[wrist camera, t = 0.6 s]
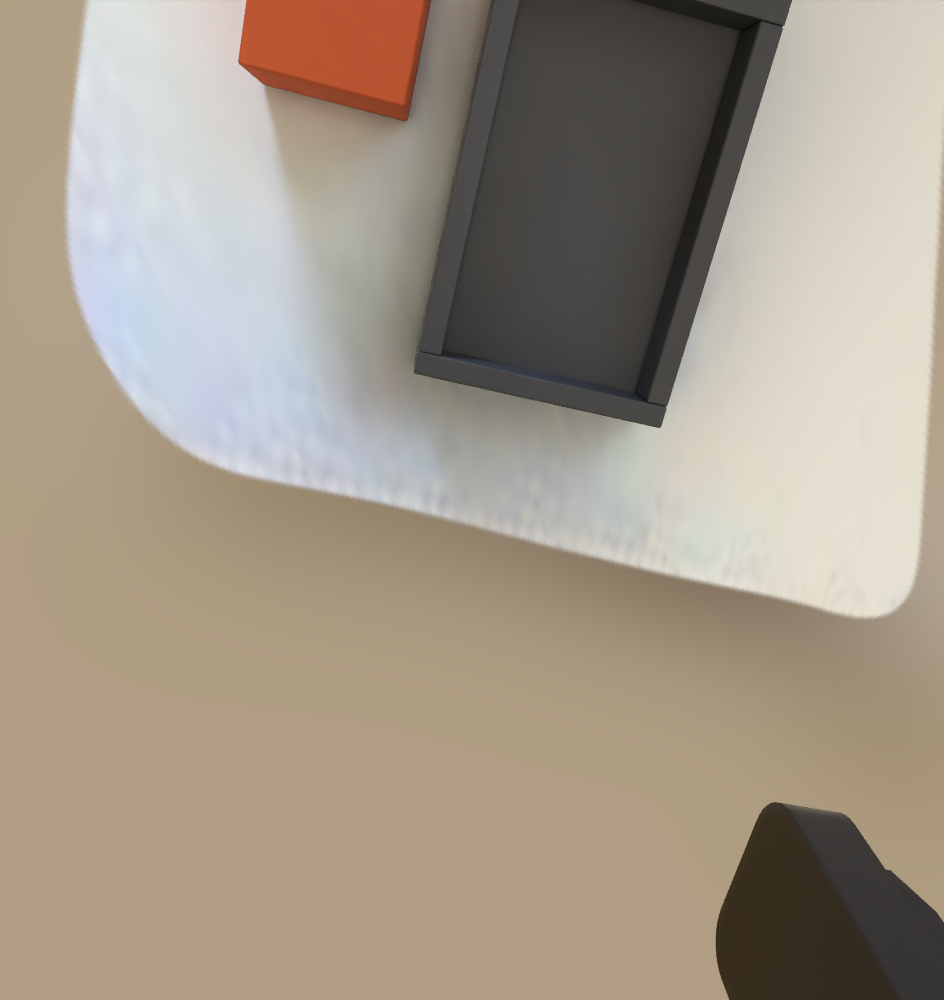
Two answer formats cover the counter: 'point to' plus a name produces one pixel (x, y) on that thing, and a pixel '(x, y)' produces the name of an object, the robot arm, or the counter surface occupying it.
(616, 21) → the tray
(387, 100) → the orange-red rectangular block
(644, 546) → the counter surface
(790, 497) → the counter surface
